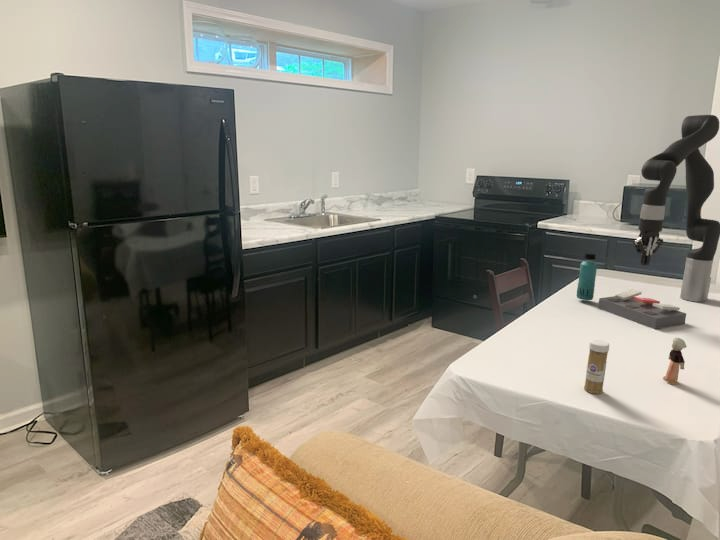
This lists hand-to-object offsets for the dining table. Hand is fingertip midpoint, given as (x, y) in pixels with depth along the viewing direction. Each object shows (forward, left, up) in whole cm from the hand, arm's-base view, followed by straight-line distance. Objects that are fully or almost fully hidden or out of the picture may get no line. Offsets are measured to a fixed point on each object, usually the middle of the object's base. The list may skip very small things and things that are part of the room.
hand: (644, 264), depth 194 cm
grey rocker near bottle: (-4, -8, -14) cm, 17 cm away
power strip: (-1, 0, -20) cm, 20 cm away
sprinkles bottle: (+63, +40, -20) cm, 77 cm away
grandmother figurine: (+39, +44, -20) cm, 62 cm away
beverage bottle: (+5, -21, -20) cm, 29 cm away
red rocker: (-4, 0, -14) cm, 15 cm away
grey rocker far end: (-4, +8, -14) cm, 17 cm away
